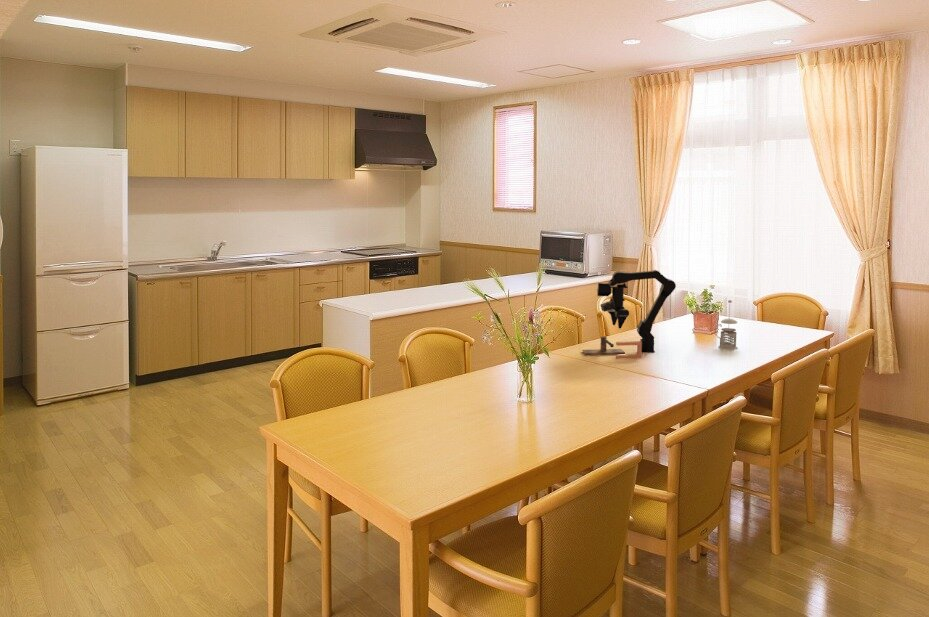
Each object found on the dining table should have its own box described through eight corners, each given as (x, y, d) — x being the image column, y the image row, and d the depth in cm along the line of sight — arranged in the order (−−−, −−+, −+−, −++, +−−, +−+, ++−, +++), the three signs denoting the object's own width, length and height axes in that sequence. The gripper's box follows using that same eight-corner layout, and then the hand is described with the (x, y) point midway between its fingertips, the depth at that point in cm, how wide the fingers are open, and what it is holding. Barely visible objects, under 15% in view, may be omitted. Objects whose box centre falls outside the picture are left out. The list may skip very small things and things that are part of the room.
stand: (620, 351, 361) (621, 335, 360) (632, 360, 340) (632, 343, 339) (582, 352, 360) (582, 335, 359) (591, 361, 339) (591, 344, 338)
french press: (739, 350, 360) (742, 301, 356) (716, 349, 362) (718, 301, 358) (735, 345, 369) (738, 298, 365) (712, 345, 371) (714, 298, 367)
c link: (639, 357, 348) (640, 341, 346) (641, 358, 345) (641, 342, 344) (615, 357, 347) (616, 341, 346) (617, 358, 345) (617, 342, 343)
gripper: (596, 294, 365) (596, 323, 367) (608, 299, 347) (607, 330, 349) (617, 293, 366) (616, 323, 369) (629, 299, 348) (628, 330, 350)
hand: (616, 326), depth 359 cm, fingers open, 9 cm apart
